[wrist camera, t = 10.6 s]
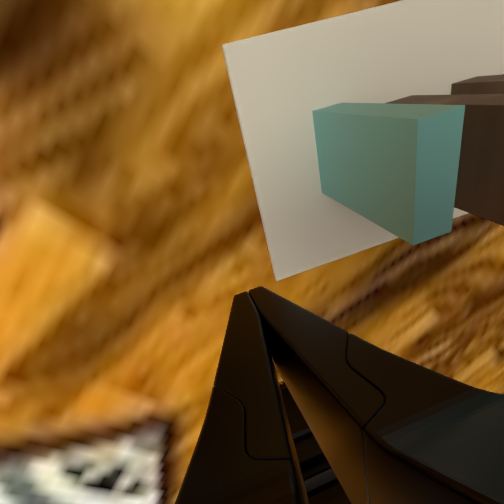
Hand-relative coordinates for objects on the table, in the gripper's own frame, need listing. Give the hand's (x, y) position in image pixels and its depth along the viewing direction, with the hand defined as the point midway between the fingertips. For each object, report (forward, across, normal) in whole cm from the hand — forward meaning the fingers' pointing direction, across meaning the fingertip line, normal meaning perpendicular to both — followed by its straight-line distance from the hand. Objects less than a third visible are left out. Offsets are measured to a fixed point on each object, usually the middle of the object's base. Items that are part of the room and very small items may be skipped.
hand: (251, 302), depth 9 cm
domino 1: (+10, -8, -1) cm, 13 cm away
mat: (+10, -17, 0) cm, 20 cm away
